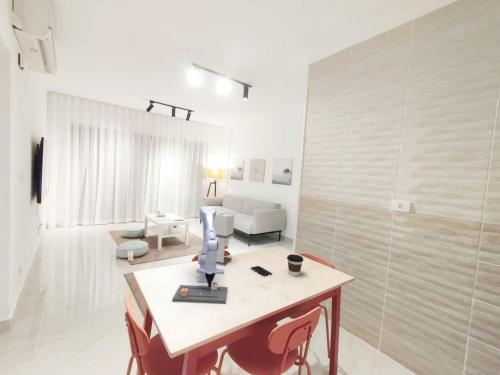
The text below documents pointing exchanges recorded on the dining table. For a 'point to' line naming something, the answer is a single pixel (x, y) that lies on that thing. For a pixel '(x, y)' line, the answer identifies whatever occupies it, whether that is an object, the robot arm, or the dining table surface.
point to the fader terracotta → (184, 292)
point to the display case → (223, 236)
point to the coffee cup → (294, 264)
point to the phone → (261, 271)
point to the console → (201, 294)
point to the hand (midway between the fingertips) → (209, 286)
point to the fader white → (214, 285)
